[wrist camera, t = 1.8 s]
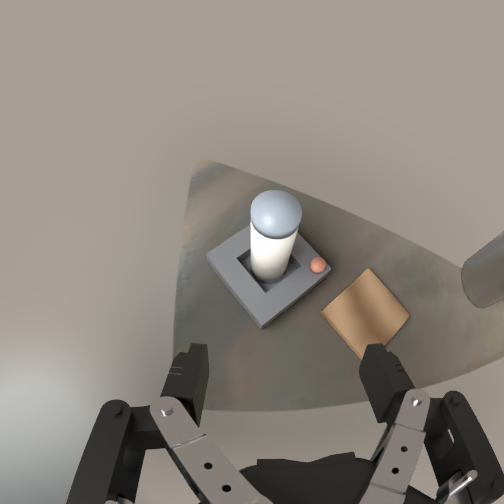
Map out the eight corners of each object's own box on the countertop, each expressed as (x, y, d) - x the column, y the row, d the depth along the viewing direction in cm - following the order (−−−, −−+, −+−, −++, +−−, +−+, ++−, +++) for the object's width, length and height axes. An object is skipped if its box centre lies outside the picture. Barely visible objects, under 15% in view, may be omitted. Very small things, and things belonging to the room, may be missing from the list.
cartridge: (270, 246, 37) (279, 182, 25) (292, 270, 35) (312, 214, 23) (243, 265, 35) (240, 206, 24) (265, 291, 34) (273, 242, 22)
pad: (365, 270, 36) (368, 267, 35) (406, 317, 33) (410, 315, 32) (319, 312, 33) (321, 310, 32) (364, 364, 30) (367, 363, 29)
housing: (272, 218, 39) (274, 204, 36) (326, 276, 35) (334, 265, 32) (208, 262, 36) (204, 250, 33) (261, 329, 32) (262, 323, 29)
